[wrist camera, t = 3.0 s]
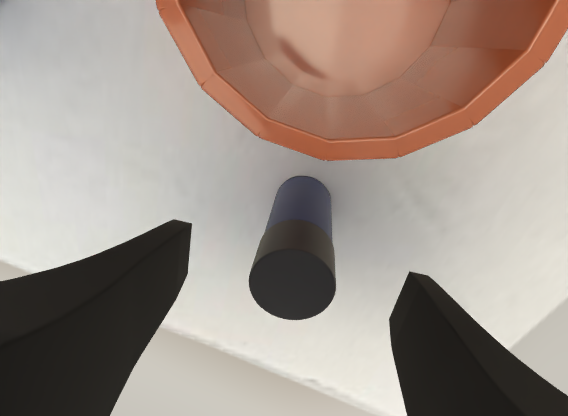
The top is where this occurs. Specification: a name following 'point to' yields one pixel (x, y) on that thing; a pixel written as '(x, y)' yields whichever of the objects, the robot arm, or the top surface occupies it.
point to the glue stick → (296, 253)
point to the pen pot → (362, 66)
